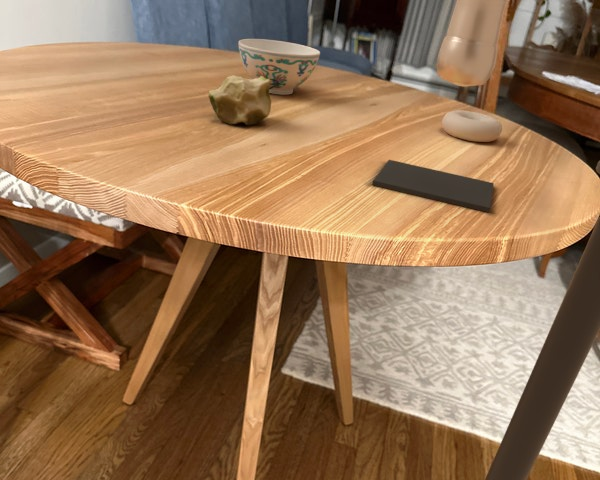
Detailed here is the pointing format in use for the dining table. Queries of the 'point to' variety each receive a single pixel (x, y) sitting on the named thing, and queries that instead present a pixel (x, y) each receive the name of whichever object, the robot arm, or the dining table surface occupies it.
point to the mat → (435, 185)
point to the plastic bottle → (471, 42)
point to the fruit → (242, 100)
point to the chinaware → (278, 62)
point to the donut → (471, 126)
